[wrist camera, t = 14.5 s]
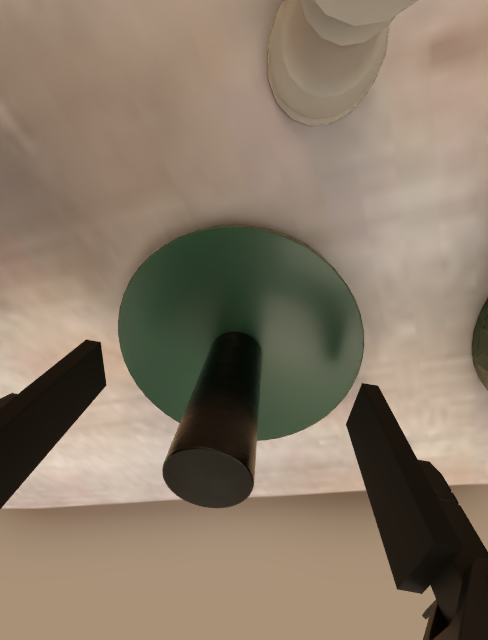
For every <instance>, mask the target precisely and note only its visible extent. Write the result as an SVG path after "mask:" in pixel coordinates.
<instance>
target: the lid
mask: <svg viewBox="0 0 488 640" xmlns="http://www.w3.org/2000/svg"><path fill="white" fill-rule="evenodd" d="M118 335H119V341H120V347H121V351H122V355H123V358H124V361H125V363H126V366H127V368H128V370H129V372H130V374H131V376H132V377H133V379H134V381H135V382H136V384H137V385H138V387H139V388H140V389H141V390H142V392H143V393H144V394H145V396H146V397H147V398H148V399H149V400H150V401H151V402H152V403H153V404H154V405H155V406H157V407H158V408H159V409H160V410H161V411H163V412H164V413H165V414H167V415H168V416H170V417H171V418H173V419H174V420H176V421H177V422H179V423H180V424H179V427H178V429H177V432H176V434H175V437H174V439H173V442H172V444H171V447H170V449H169V452H168V454H167V457H166V459H165V462H164V464H163V478H164V481H165V483H166V484H167V486H168V487H169V488H170V490H171V491H172V492H174V493H175V494H176V495H177V496H179V497H180V498H182V499H183V500H185V501H188V502H190V503H192V504H195V505H198V506H202V507H209V508H226V507H231V506H234V505H237V504H239V503H241V502H242V501H244V500H245V499H246V498H248V496H249V495H250V493H251V492H252V490H253V486H254V474H255V460H256V445H257V441H259V440H269V439H275V438H280V437H283V436H287V435H291V434H293V433H296V432H299V431H301V430H304V429H306V428H307V427H309V426H311V425H313V424H315V423H317V422H318V421H319V420H321V419H322V418H324V417H325V416H327V415H328V414H329V413H330V412H331V411H332V410H333V409H335V408H336V407H337V406H338V404H339V403H340V402H341V401H342V400H343V399H344V398H345V396H346V395H347V393H348V392H349V390H350V389H351V387H352V385H353V383H354V381H355V379H356V377H357V375H358V372H359V369H360V365H361V362H362V357H363V349H364V330H363V325H362V320H361V315H360V312H359V309H358V307H357V304H356V301H355V299H354V297H353V295H352V293H351V292H350V290H349V288H348V286H347V284H346V283H345V282H344V281H343V279H342V278H341V277H340V275H339V274H338V273H337V272H336V270H335V269H334V268H333V267H332V266H331V265H330V264H329V263H328V262H327V261H326V260H325V259H324V258H323V257H322V256H320V255H319V254H318V253H316V252H315V251H313V250H312V249H311V248H309V247H308V246H307V245H305V244H303V243H301V242H299V241H297V240H295V239H293V238H291V237H289V236H286V235H284V234H281V233H278V232H275V231H272V230H268V229H263V228H258V227H254V226H240V225H228V226H215V227H210V228H206V229H201V230H197V231H194V232H192V233H189V234H186V235H183V236H181V237H179V238H177V239H175V240H173V241H172V242H170V243H168V244H166V245H164V246H163V247H161V248H160V249H159V250H158V251H156V252H155V253H154V254H152V255H151V256H150V257H149V258H148V259H147V260H146V261H145V262H144V263H143V264H142V265H141V266H140V267H139V269H138V270H137V272H136V273H135V274H134V276H133V277H132V279H131V280H130V282H129V284H128V287H127V289H126V291H125V293H124V296H123V299H122V303H121V306H120V312H119V320H118Z"/></svg>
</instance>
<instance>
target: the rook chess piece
mask: <svg viewBox="0 0 488 640" xmlns="http://www.w3.org/2000/svg"><path fill="white" fill-rule="evenodd" d="M416 1H418V0H284V2H283V3H282V5H281V6H280V8H279V10H278V11H277V14H276V18H275V22H274V25H273V29H272V33H271V37H270V40H269V49H268V80H269V83H270V85H271V88H272V91H273V93H274V96H275V99H276V101H277V103H278V105H279V106H280V107H281V108H282V109H283V110H284V111H285V112H286V113H287V114H288V115H289V116H290V117H291V118H292V119H294V120H296V121H299V122H302V123H304V124H307V125H310V126H313V125H322V124H331V123H333V122H334V121H336V120H338V119H339V118H341V117H343V116H345V115H346V114H348V113H350V112H351V111H352V110H353V109H354V108H355V106H356V105H357V104H358V103H359V102H360V100H361V99H362V98H363V97H364V96H365V94H366V93H367V92H368V90H369V88H370V87H371V85H372V84H373V83H374V81H375V78H376V76H377V74H378V71H379V69H380V66H381V64H382V62H383V59H384V57H385V54H386V48H387V39H388V30H389V24H390V23H391V21H392V20H393V19H394V18H395V16H396V15H397V14H398V13H400V12H401V11H403V10H404V9H406V8H407V7H409V6H410V5H412V4H413V3H415V2H416Z"/></svg>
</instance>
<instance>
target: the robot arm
mask: <svg viewBox="0 0 488 640" xmlns="http://www.w3.org/2000/svg"><path fill="white" fill-rule="evenodd" d="M105 386H106V379H105V372H104V364H103V357H102V349H101V342H96V341H89V340H85V341H84V342H83V343H81V344H80V345H79V346H78V347H76V348H75V349H74V350H73V351H71V352H70V353H69V354H68V355H66V356H65V357H64V358H63V359H61V360H60V361H59V362H58V363H56V364H55V365H54V366H53V367H51V368H50V369H49V370H48V371H46V372H45V373H44V374H43V375H41V376H40V377H39V378H38V379H36V380H35V381H34V382H33V383H31V384H30V385H29V386H28V387H26V388H25V389H24V390H23V391H21V392H20V393H19V394H14V393H11V394H9V395H7V396H5V397H3V398H1V399H0V509H1V508H2V506H3V505H4V504H5V503H6V502H7V501H8V499H9V498H10V497H11V496H12V495H13V494H14V492H15V491H16V490H17V489H18V488H19V487H20V485H21V484H22V483H23V482H24V481H25V480H26V478H27V477H28V476H29V475H30V474H31V473H32V471H33V470H34V469H35V468H36V467H37V466H38V464H39V463H40V462H41V461H42V460H43V459H44V457H45V456H46V455H47V454H48V453H49V452H50V450H51V449H52V448H53V447H54V446H55V445H56V443H57V442H58V441H59V440H60V439H61V438H62V436H63V435H64V434H65V433H66V432H67V431H68V429H69V428H70V427H71V426H72V425H73V424H74V422H75V421H76V420H77V419H78V418H79V417H80V415H81V414H82V413H83V412H84V411H85V410H86V408H87V407H88V406H89V405H90V404H91V403H92V401H93V400H94V399H95V398H96V397H97V396H98V394H99V393H100V392H101V391H102V390H103V389H104V387H105ZM346 426H347V429H348V432H349V435H350V439H351V442H352V445H353V448H354V451H355V455H356V458H357V461H358V464H359V468H360V471H361V474H362V477H363V480H364V484H365V487H366V490H367V493H368V497H369V500H370V503H371V506H372V509H373V513H374V516H375V519H376V522H377V526H378V529H379V532H380V535H381V538H382V542H383V545H384V548H385V551H386V555H387V558H388V561H389V564H390V568H391V571H392V574H393V577H394V581H395V584H396V587H397V589H399V590H404V591H410V592H416V593H421V594H422V593H423V592H424V591H425V590H426V589H427V588H428V587H429V586H430V585H431V587H432V590H433V592H434V595H435V597H436V600H435V601H434V602H433V603H432V604H431V605H430V606H429V607H428V608H427V609H426V611H425V612H424V613H423V615H422V616H423V617H424V618H425V619H427V618H428V617H429V620H428V623H427V627H426V630H425V635H424V638H423V640H488V552H487V550H486V548H485V546H484V545H483V543H482V542H481V540H480V538H479V536H478V535H477V533H476V531H475V530H474V528H473V526H472V525H471V523H470V522H469V519H468V518H467V516H466V514H465V513H464V511H463V509H462V508H461V506H459V505H458V501H457V499H456V497H455V496H454V494H453V493H451V489H450V487H449V486H448V484H447V482H446V481H445V479H444V477H443V476H442V474H441V473H440V472H439V471H438V470H437V469H436V468H435V467H434V466H433V465H432V464H431V463H430V462H428V461H422V460H417V458H416V456H415V454H414V452H413V450H412V449H411V447H410V445H409V443H408V441H407V439H406V437H405V435H404V434H403V432H402V430H401V428H400V426H399V424H398V422H397V420H396V419H395V417H394V415H393V413H392V411H391V409H390V407H389V405H388V404H387V402H386V400H385V398H384V396H383V394H382V392H381V390H380V389H379V387H378V386H376V385H370V384H363V383H362V385H361V388H360V390H359V393H358V395H357V398H356V400H355V403H354V405H353V408H352V410H351V413H350V416H349V418H348V421H347V423H346Z"/></svg>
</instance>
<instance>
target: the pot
mask: <svg viewBox="0 0 488 640" xmlns="http://www.w3.org/2000/svg"><path fill="white" fill-rule="evenodd" d="M472 345H473V360H474V365H475V369H476V371H477V374H478V376H479V378H480V380H481V381H482V383H483V384H484V386H485V387H486V388H487V390H488V300H487V301H486V303H485V305H484V307H483V309H482V311H481V314H480V316H479V318H478V321H477V325H476V328H475V331H474V337H473V344H472Z"/></svg>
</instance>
